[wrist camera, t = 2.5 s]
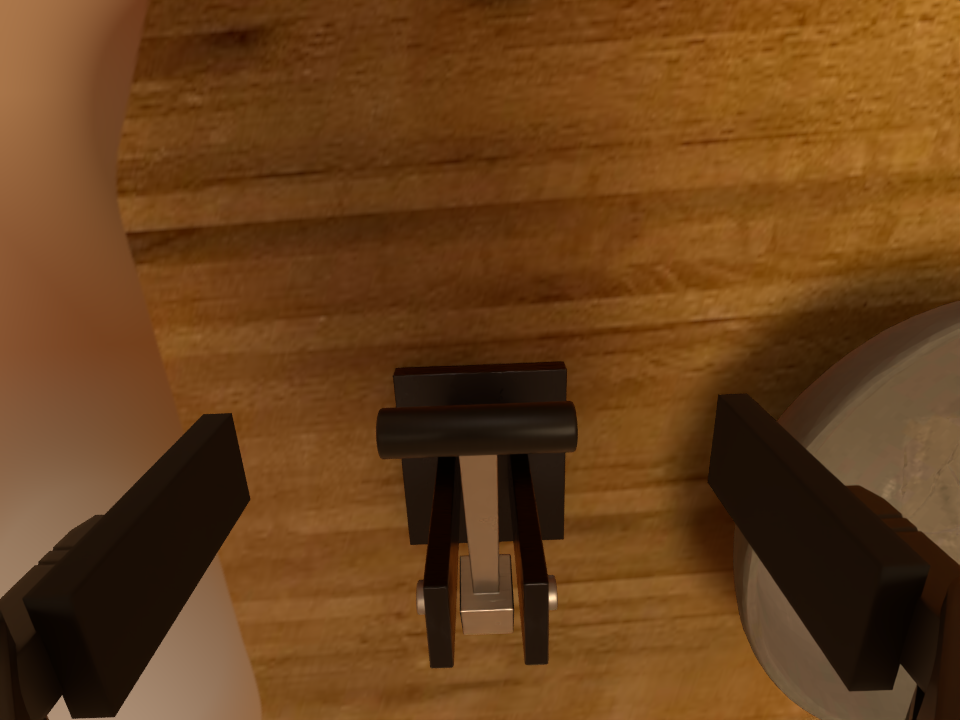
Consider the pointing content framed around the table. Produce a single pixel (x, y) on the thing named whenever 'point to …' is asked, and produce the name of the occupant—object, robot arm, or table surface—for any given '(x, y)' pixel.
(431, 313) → the table surface
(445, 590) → the bracket
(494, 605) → the lever
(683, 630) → the table surface
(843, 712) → the bowl
